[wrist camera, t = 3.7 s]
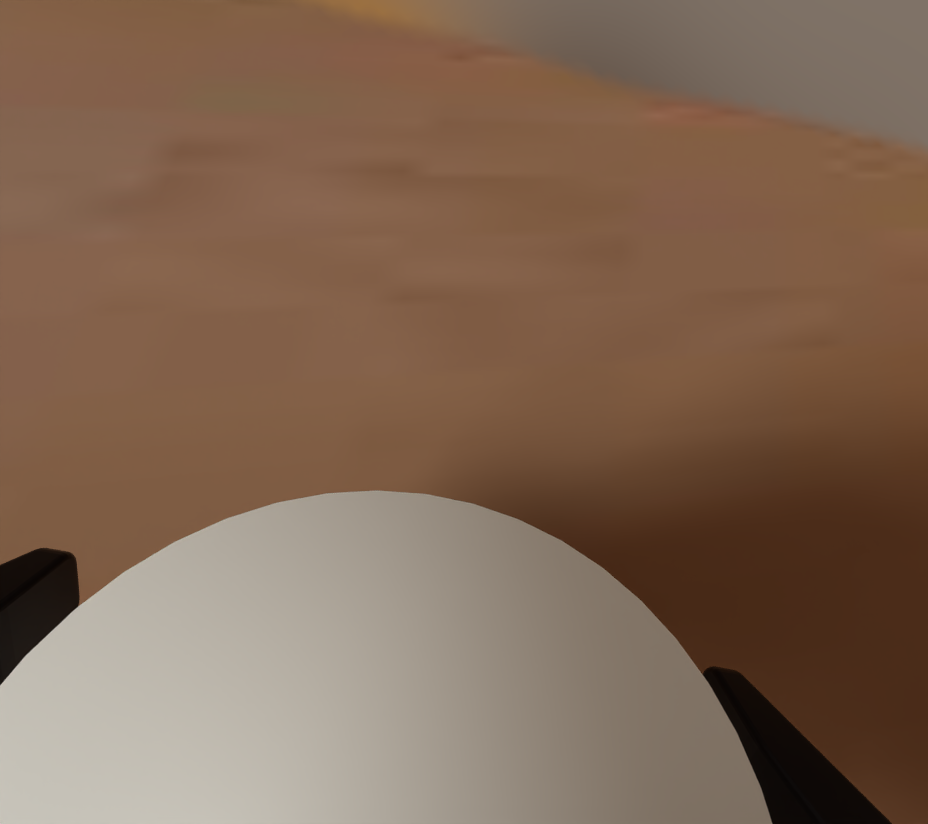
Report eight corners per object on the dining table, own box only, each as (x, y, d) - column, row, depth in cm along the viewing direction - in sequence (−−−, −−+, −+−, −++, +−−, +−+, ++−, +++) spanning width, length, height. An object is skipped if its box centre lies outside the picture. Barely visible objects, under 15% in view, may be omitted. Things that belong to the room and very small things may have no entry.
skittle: (506, 742, 14) (975, 1209, 3) (317, 841, 13) (-82, 2190, 2) (431, 558, 15) (565, 389, 4) (252, 635, 14) (-238, 694, 3)
